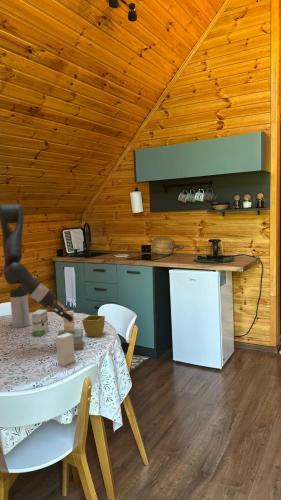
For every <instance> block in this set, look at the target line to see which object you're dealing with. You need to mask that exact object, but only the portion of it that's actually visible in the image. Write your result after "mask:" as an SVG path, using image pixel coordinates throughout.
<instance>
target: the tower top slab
mask: <svg viewBox="0 0 281 500" xmlns="http://www.w3.org/2000/svg"><path fill="white" fill-rule="evenodd" d="M74 329H75V330H71V331H64V329H61V330H60V329H59V330H58V333H57V336H59V335H62V334H65V333H70V334H73V342H74V344H82V342H83V338H84V335H83V334H84V332H83V330H84V329H83V328H74ZM57 336H56V337H57Z"/></svg>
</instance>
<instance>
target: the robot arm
mask: <svg viewBox="0 0 281 500" xmlns="http://www.w3.org/2000/svg"><path fill="white" fill-rule="evenodd" d="M24 213H25V212H24V208H23V205H22V204H20V203H9V204H8V203H3V204H0V227H1V228H0V229H1V235H2V236H1V237H2V250H3V256H4V267H3V277H4V279H5V281H6V283H7V284H8V285H18V284H19V286H17V287H15V288H14V289H12V290H10V291H9V299H10V310H11V319H12V320H11V321H12V327H13V328H15V329H17V328H19V329H20V328H26V327H29V326H30V325H31V321H30V320H31V319H30V309H29V308H30V307H29V298H28V295H29V296H31V298H32V299H33V300H34V301H35V302H37V303H38V304H40V306H42V307H43V308H45V309H47V308H48V307H49V306H50V308H51V310H52V312H54V313H55V314H56V315H58V316H59V317H60V318H63V317H64V318H66V319H67V320H68V321H70V322H71V321H72V320H73V317H71V316H70V315H69V314H68V313H67V312H66V311H69V310H68V308H67V307H66V306H65V305H63V303H62V302H60V300H58V299H56V297H57V295H56V293H54V292H53V291H51V290H50V289H49V288H48V287H47V286H45V285H44V284H43V283H40V281H39V280H38V279H36V278H34V277H33V275H32V274H31V272H30V271H29V270H28V269H27V267H26V266H25V265H24V264H22V263H21V261H22V256H23V254H22V253H23V245H22V244H23V243H22V240H23V229H24V215H25V214H24ZM10 224H16V225H15V228H14V230H13V229H12V228H11V227H10Z"/></svg>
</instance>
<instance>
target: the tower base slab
mask: <svg viewBox="0 0 281 500" xmlns="http://www.w3.org/2000/svg"><path fill="white" fill-rule="evenodd" d="M79 350H84V346H83V341H82V344H74V351H79Z"/></svg>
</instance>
